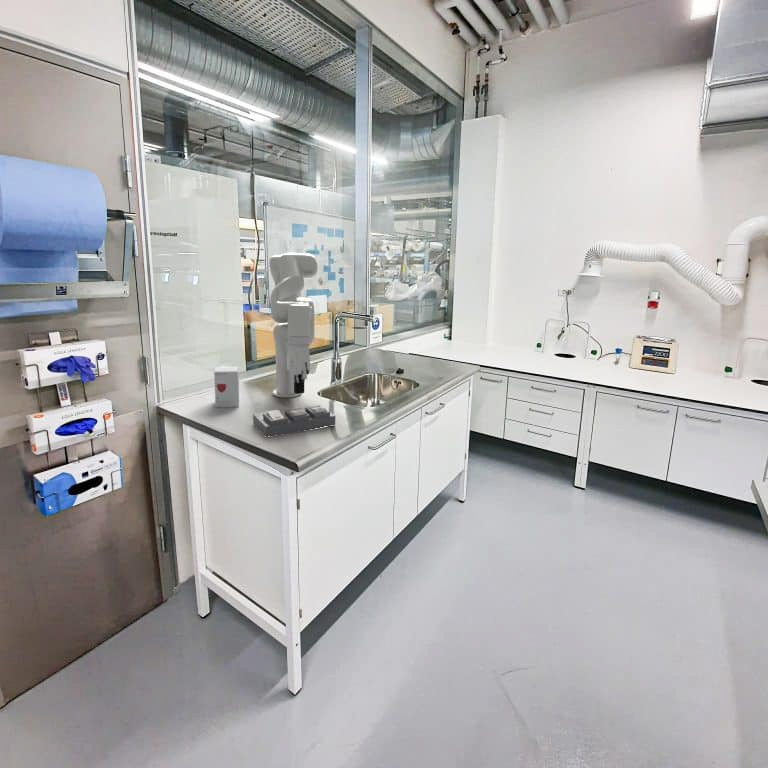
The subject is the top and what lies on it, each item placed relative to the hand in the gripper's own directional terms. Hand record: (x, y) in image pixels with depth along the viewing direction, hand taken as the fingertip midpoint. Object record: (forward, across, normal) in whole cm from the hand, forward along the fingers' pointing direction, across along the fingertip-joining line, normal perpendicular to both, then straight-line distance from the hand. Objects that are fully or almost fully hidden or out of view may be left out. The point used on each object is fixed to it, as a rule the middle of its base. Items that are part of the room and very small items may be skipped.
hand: (299, 392), depth 157 cm
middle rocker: (+9, -2, 0) cm, 9 cm away
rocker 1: (+9, -2, -8) cm, 12 cm away
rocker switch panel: (+14, -5, 0) cm, 15 cm away
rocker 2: (+9, -2, +8) cm, 12 cm away
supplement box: (+13, -39, -15) cm, 44 cm away
